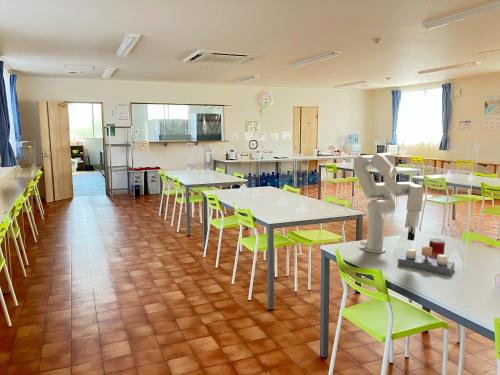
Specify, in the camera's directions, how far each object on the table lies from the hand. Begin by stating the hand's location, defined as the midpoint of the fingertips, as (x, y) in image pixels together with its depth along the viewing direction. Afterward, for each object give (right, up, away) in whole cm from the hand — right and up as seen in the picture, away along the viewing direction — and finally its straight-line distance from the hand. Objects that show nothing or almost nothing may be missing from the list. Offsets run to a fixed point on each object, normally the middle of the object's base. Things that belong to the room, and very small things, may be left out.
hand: (410, 239), depth 227 cm
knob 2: (+13, -14, -8) cm, 21 cm away
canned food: (+19, -13, +12) cm, 26 cm away
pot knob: (+7, -11, -4) cm, 13 cm away
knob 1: (0, -13, +1) cm, 13 cm away
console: (+7, -15, -3) cm, 16 cm away
